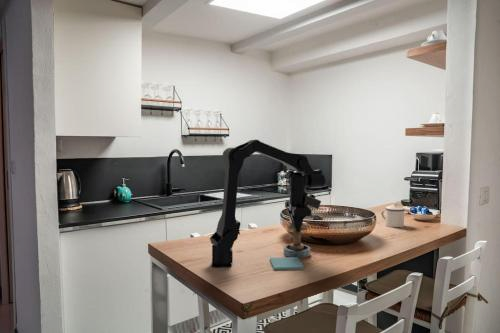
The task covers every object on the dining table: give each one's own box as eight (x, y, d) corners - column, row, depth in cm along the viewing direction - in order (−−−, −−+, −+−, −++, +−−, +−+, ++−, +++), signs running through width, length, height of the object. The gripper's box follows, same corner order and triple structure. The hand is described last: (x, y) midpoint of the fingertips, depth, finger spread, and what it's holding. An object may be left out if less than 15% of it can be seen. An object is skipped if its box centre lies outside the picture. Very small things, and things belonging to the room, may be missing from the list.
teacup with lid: (407, 226, 178) (408, 203, 177) (397, 228, 172) (398, 205, 171) (386, 222, 187) (386, 200, 186) (376, 224, 182) (376, 201, 181)
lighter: (327, 238, 155) (327, 215, 154) (323, 239, 152) (323, 216, 152) (311, 234, 160) (311, 213, 160) (307, 236, 158) (307, 214, 157)
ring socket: (286, 258, 127) (286, 251, 127) (281, 250, 137) (281, 244, 137) (312, 257, 128) (312, 251, 128) (306, 249, 137) (306, 243, 137)
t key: (304, 245, 135) (304, 222, 134) (307, 249, 130) (308, 225, 129) (286, 246, 134) (286, 222, 134) (288, 250, 129) (289, 225, 129)
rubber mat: (273, 270, 115) (273, 267, 115) (269, 260, 125) (269, 257, 125) (304, 269, 116) (304, 266, 116) (297, 259, 126) (297, 257, 126)
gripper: (326, 192, 122) (325, 236, 123) (312, 185, 141) (312, 224, 142) (294, 192, 121) (294, 237, 122) (284, 185, 140) (284, 225, 141)
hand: (297, 230), depth 132 cm, fingers closed on t key, 3 cm apart
